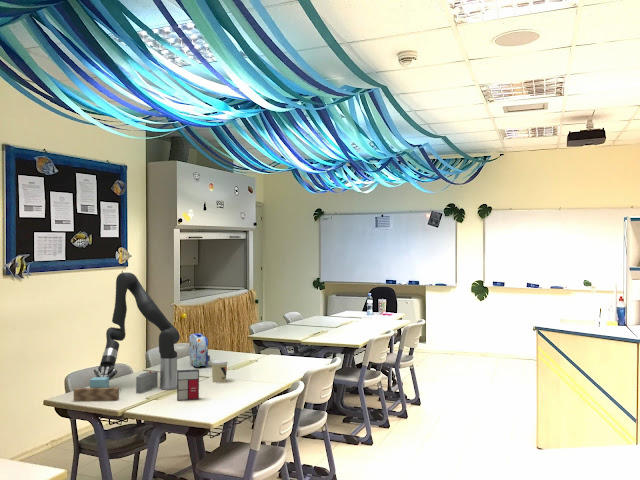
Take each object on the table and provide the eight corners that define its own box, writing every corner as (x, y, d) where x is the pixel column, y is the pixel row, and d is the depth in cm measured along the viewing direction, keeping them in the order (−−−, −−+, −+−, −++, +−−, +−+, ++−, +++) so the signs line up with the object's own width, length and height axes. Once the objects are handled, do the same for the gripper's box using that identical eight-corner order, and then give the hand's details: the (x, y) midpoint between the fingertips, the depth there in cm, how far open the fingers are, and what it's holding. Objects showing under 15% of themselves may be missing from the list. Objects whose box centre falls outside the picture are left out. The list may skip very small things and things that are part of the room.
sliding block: (108, 394, 291) (109, 377, 291) (105, 397, 285) (105, 379, 285) (93, 394, 290) (93, 377, 290) (89, 397, 284) (89, 379, 284)
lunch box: (211, 368, 361) (211, 335, 362) (195, 369, 357) (195, 336, 357) (201, 360, 386) (202, 329, 387) (187, 362, 382) (187, 330, 382)
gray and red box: (177, 401, 282) (177, 371, 282) (177, 398, 286) (177, 370, 286) (198, 399, 285) (199, 370, 285) (198, 397, 289) (198, 369, 289)
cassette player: (153, 386, 312) (153, 369, 312) (157, 387, 311) (157, 369, 312) (136, 393, 297) (136, 374, 298) (140, 393, 297) (140, 375, 297)
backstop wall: (128, 390, 304) (128, 379, 304) (117, 400, 282) (117, 388, 282) (88, 390, 302) (88, 379, 302) (73, 401, 281) (73, 389, 281)
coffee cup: (223, 383, 320) (223, 363, 320) (208, 382, 322) (208, 362, 322) (229, 380, 329) (229, 360, 329) (214, 379, 331) (215, 359, 331)
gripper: (95, 354, 300) (87, 382, 288) (120, 354, 301) (112, 382, 289) (98, 362, 306) (90, 389, 293) (122, 361, 307) (115, 389, 294)
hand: (101, 385), depth 291 cm, fingers closed
